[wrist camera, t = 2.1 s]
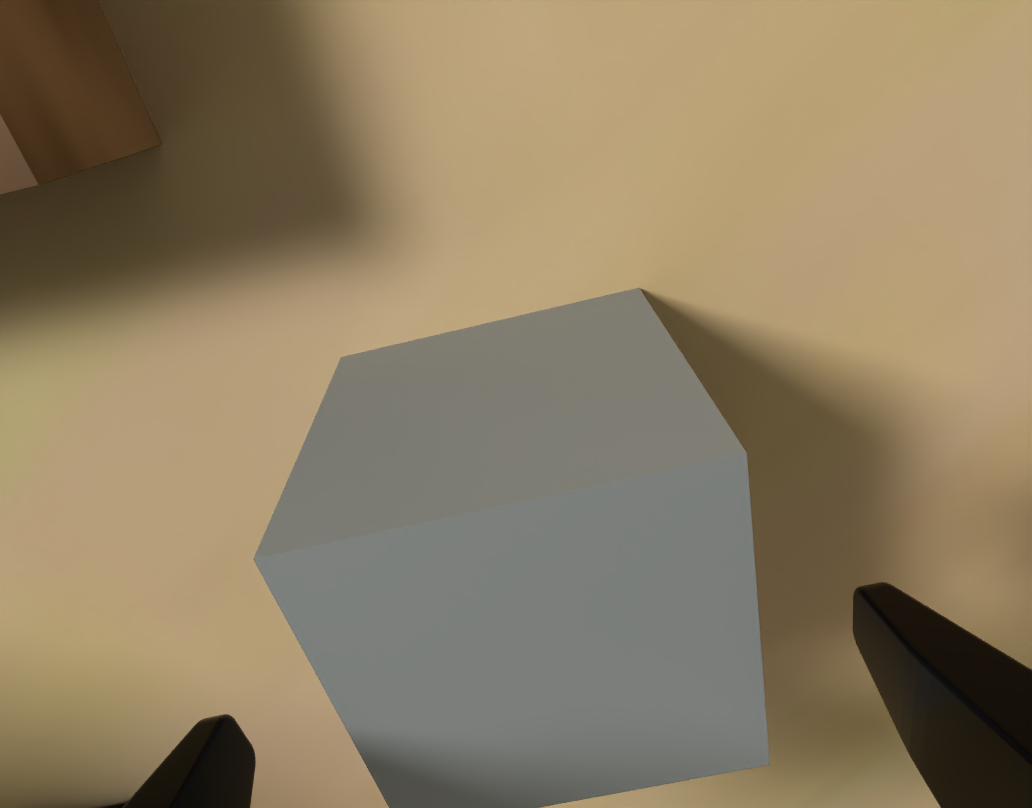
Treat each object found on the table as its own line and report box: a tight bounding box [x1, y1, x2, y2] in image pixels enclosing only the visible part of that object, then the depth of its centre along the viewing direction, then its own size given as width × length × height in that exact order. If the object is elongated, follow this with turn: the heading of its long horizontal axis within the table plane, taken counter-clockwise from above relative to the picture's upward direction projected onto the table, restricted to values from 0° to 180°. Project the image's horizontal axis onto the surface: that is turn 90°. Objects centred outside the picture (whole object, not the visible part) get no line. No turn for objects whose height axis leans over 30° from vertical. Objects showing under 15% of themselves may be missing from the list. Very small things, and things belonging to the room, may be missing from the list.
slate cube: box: [253, 288, 770, 808], centre depth 12 cm, size 6×6×6 cm
